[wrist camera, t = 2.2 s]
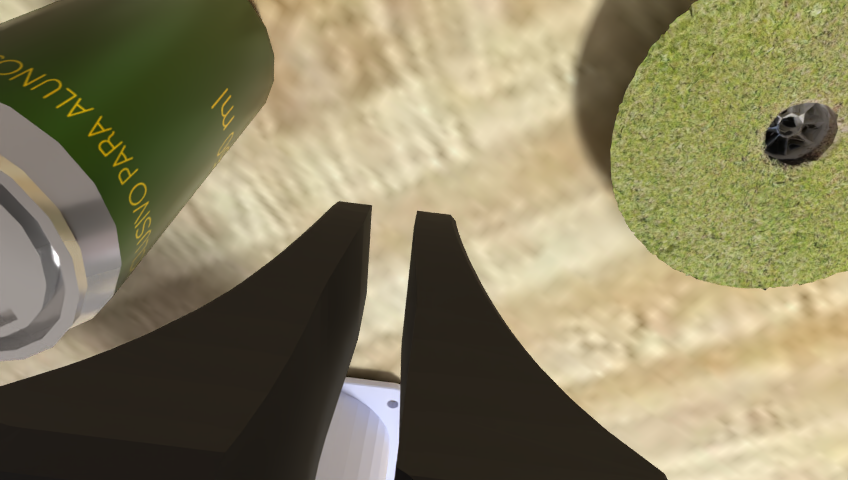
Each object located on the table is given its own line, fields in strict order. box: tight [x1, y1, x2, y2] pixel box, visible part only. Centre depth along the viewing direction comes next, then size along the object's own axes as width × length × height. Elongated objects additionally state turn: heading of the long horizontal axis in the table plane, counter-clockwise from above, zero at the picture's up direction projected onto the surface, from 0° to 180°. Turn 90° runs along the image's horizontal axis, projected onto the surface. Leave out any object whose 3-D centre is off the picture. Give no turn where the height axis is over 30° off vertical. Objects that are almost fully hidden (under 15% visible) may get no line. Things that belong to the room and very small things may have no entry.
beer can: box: [0, 0, 274, 361], centre depth 15 cm, size 5×5×12 cm
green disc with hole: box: [610, 0, 848, 290], centre depth 19 cm, size 11×11×2 cm
